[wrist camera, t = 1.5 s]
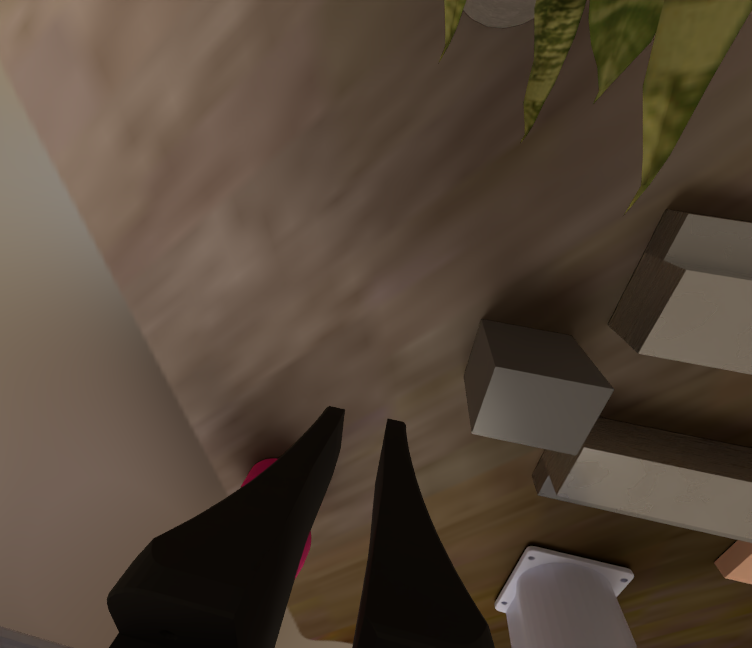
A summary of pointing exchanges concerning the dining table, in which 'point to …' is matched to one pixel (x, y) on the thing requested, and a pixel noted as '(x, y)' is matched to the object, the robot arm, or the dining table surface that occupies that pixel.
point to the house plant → (623, 53)
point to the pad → (737, 562)
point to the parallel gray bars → (681, 343)
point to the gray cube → (533, 387)
